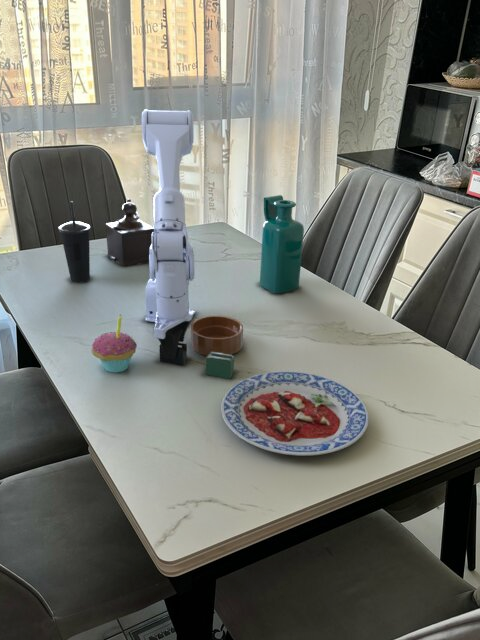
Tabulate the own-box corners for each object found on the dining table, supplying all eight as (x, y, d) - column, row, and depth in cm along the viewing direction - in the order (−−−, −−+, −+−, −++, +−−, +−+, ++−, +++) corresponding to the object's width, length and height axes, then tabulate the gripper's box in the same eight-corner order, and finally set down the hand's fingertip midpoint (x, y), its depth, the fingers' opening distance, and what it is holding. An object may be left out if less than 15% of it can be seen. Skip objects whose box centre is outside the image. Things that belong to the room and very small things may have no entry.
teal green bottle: (301, 288, 157) (310, 203, 144) (276, 295, 152) (282, 207, 140) (278, 276, 163) (284, 193, 151) (253, 282, 159) (257, 197, 147)
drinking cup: (101, 277, 159) (94, 200, 148) (80, 287, 153) (71, 207, 142) (80, 271, 162) (71, 195, 151) (59, 280, 156) (48, 201, 145)
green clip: (205, 374, 119) (206, 356, 116) (209, 368, 121) (209, 350, 118) (230, 379, 118) (230, 360, 115) (233, 372, 120) (234, 354, 117)
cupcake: (144, 361, 122) (141, 307, 116) (124, 381, 116) (120, 325, 109) (107, 353, 125) (101, 299, 118) (85, 373, 118) (78, 317, 111)
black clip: (159, 361, 122) (159, 343, 120) (164, 356, 124) (163, 337, 122) (183, 365, 121) (182, 347, 119) (187, 359, 123) (186, 341, 121)
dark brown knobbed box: (104, 256, 172) (98, 191, 162) (139, 249, 178) (135, 186, 168) (129, 273, 162) (125, 205, 152) (165, 266, 167) (163, 200, 157)
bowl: (183, 353, 126) (183, 334, 123) (200, 331, 135) (200, 312, 132) (234, 362, 123) (235, 342, 121) (247, 338, 132) (248, 319, 130)
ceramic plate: (259, 480, 93) (260, 465, 91) (199, 395, 112) (199, 382, 111) (396, 444, 102) (399, 429, 100) (319, 371, 121) (321, 358, 120)
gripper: (178, 310, 108) (179, 375, 115) (203, 281, 120) (203, 341, 127) (141, 305, 109) (145, 369, 117) (169, 276, 121) (171, 336, 129)
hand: (173, 354), depth 122 cm, fingers closed on black clip, 2 cm apart
